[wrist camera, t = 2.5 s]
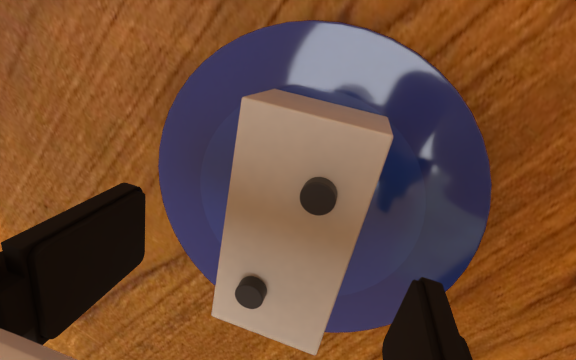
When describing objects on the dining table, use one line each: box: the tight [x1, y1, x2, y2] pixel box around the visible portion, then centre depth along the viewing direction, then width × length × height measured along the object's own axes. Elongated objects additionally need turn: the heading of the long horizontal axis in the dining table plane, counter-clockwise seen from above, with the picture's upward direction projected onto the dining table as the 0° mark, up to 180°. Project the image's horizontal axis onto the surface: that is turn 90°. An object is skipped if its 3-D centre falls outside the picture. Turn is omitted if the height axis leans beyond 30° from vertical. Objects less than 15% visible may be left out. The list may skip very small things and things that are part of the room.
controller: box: [211, 89, 393, 355], centre depth 13 cm, size 10×5×4 cm, turn 168°
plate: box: [158, 20, 492, 333], centre depth 15 cm, size 16×16×1 cm
